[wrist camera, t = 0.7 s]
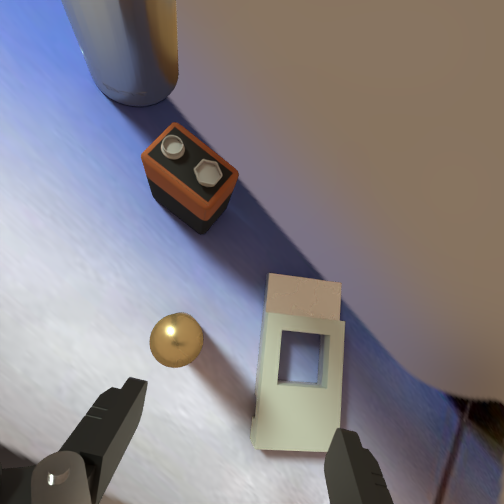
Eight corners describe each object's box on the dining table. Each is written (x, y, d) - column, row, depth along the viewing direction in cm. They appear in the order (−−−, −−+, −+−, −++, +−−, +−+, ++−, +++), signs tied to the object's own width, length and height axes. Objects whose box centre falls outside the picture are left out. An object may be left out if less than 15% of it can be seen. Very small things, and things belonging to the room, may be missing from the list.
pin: (166, 310, 31) (154, 310, 19) (199, 314, 32) (206, 316, 20) (161, 344, 30) (145, 365, 19) (194, 347, 31) (199, 369, 19)
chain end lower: (329, 399, 33) (335, 403, 31) (254, 394, 31) (256, 397, 30) (336, 283, 35) (341, 282, 34) (266, 274, 34) (269, 272, 32)
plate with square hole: (262, 312, 33) (268, 312, 31) (334, 320, 34) (345, 321, 32) (249, 438, 30) (255, 449, 28) (327, 442, 32) (338, 452, 30)
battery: (202, 237, 33) (209, 207, 23) (150, 196, 33) (135, 149, 23) (228, 207, 34) (244, 166, 25) (177, 167, 34) (174, 110, 24)
